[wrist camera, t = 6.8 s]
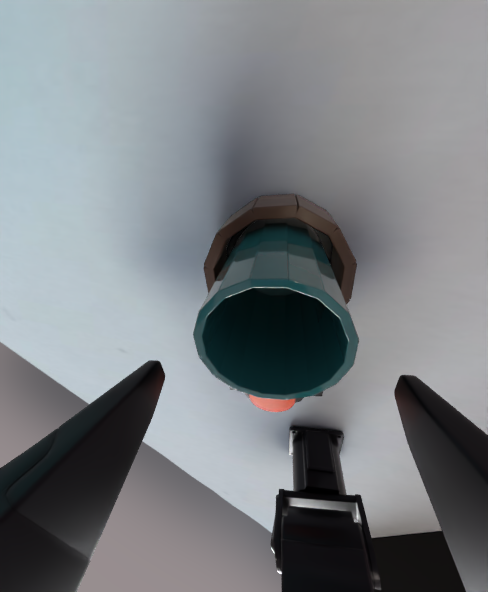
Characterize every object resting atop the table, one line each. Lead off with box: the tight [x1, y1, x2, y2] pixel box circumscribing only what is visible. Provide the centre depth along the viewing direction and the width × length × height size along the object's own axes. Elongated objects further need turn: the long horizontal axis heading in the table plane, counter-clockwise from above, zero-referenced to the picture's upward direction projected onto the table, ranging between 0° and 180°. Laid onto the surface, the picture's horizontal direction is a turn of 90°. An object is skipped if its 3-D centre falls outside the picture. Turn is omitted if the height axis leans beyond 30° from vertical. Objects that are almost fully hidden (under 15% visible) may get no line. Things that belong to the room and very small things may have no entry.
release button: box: [249, 395, 296, 412], centre depth 21 cm, size 4×4×2 cm
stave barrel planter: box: [204, 194, 357, 304], centre depth 17 cm, size 9×9×4 cm
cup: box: [193, 218, 359, 400], centre depth 14 cm, size 7×7×10 cm
